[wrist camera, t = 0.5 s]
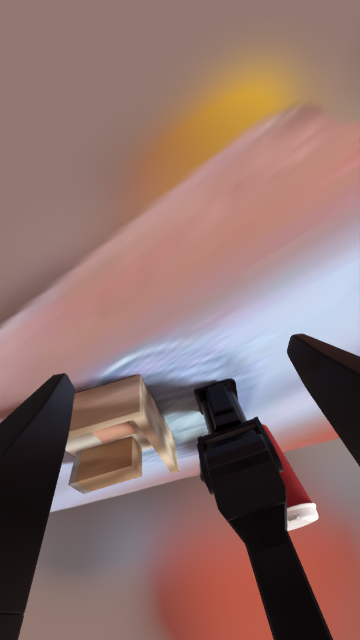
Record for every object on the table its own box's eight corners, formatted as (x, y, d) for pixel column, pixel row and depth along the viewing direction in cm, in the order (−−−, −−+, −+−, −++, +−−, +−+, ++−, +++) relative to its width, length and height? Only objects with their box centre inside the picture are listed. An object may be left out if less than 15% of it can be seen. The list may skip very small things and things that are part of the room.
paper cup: (231, 431, 41) (267, 529, 29) (267, 416, 40) (319, 511, 28) (243, 445, 45) (278, 535, 34) (275, 432, 44) (323, 520, 32)
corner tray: (174, 437, 38) (178, 471, 34) (88, 463, 39) (80, 500, 34) (139, 374, 28) (139, 411, 23) (20, 409, 28) (-3, 453, 23)
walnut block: (141, 447, 37) (141, 476, 34) (89, 462, 37) (83, 494, 34) (132, 435, 35) (131, 465, 31) (76, 452, 35) (68, 484, 31)
